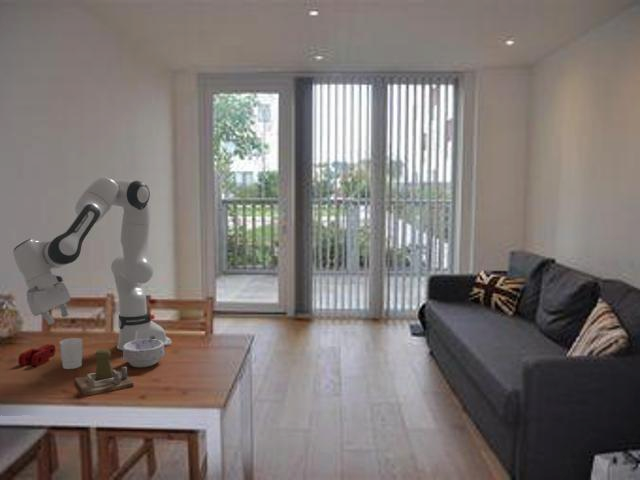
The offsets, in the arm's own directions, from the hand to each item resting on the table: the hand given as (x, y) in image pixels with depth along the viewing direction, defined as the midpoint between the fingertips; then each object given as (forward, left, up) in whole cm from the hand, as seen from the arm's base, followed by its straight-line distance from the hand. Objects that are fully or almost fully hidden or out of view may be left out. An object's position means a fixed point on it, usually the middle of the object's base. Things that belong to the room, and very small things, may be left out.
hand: (59, 320), depth 197 cm
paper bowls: (-30, -2, -22) cm, 37 cm away
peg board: (-12, +12, -22) cm, 28 cm away
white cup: (-6, -14, -22) cm, 27 cm away
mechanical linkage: (+4, -28, -23) cm, 36 cm away
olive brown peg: (-12, +12, -21) cm, 27 cm away
